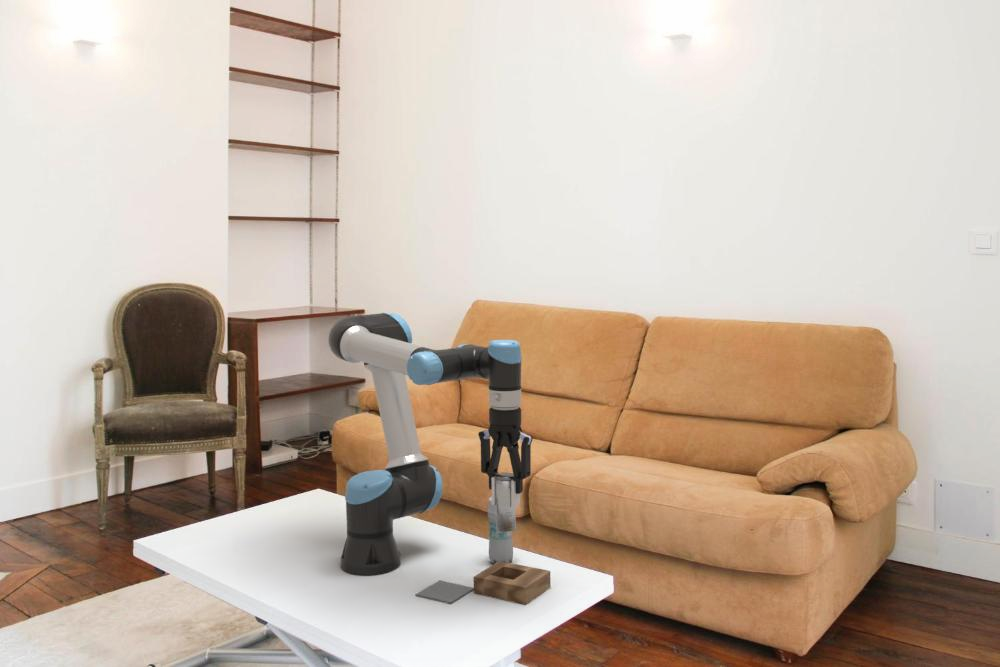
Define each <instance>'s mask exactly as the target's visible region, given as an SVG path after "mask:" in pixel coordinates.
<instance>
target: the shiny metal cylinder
mask: <svg viewBox="0 0 1000 667" xmlns="http://www.w3.org/2000/svg"><path fill="white" fill-rule="evenodd" d="M513 479H514V475H513V472H499V473H498V474H496V529H497V530H499V531H504V532H508V531H512V532H513V531H515V530H516V529H517V521H516V520H517V519H516V518H517V517H516V516H517V515H516V514H517V512H516V511H517V510H516V508H517V507H516V508H511V480H513Z"/></svg>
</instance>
